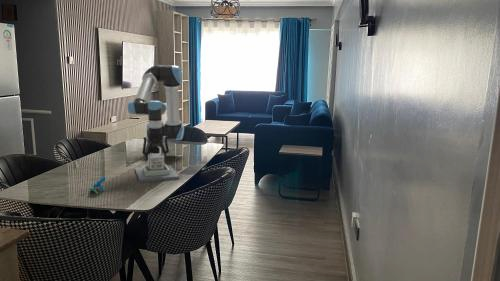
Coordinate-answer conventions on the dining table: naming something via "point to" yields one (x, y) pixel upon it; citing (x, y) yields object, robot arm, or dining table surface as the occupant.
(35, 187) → the dining table surface
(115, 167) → the dining table surface
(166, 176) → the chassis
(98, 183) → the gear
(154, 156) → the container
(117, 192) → the dining table surface
